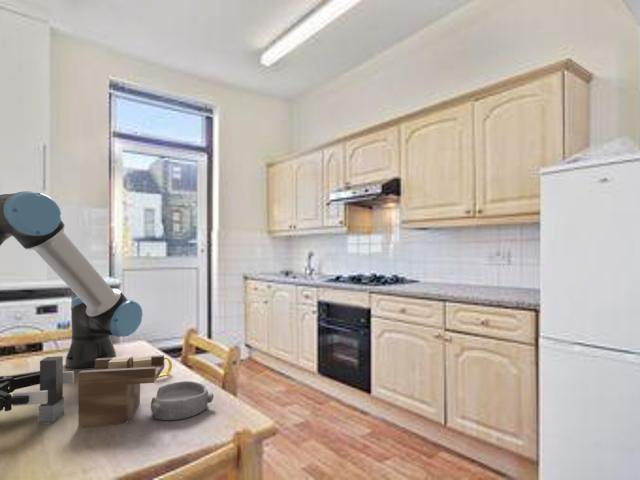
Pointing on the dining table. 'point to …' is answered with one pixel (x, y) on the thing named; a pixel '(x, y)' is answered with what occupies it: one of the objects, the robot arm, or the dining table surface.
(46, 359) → the dark gray upright block
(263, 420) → the dining table surface
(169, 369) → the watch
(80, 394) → the slot board
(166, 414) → the dish
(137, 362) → the cream block
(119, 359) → the cream square block
